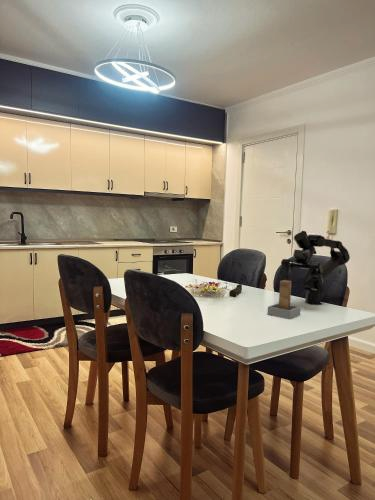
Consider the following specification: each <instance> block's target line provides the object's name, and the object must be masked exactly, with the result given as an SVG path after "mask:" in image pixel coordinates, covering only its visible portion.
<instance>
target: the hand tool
mask: <svg viewBox="0 0 375 500" xmlns="http://www.w3.org/2000/svg"><path fill="white" fill-rule="evenodd" d="M242 287H243V285H242V283H239V284H237V285H236V287H235V288H233V289H230V290H229V292H228V295H229V297H230V298H236V297H237V295H239V294H241V293H242V289H243V288H242Z"/></svg>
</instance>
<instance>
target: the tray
mask: <svg viewBox="0 0 375 500" xmlns="http://www.w3.org/2000/svg"><path fill="white" fill-rule="evenodd" d="M301 308H302V307H301V306H299V305H291V304H290V310H285V309H280V308H279V302H277V303H275V304H271V305H269V306H267V316H271V317H272V316H273V317H278V318H283V319H288V320H292V319H294V318H296V317H298V316H301V311H302V310H301Z"/></svg>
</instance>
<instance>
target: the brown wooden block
mask: <svg viewBox="0 0 375 500" xmlns="http://www.w3.org/2000/svg"><path fill="white" fill-rule="evenodd" d="M278 294H279V295H278V303H279V308H280V309H285V310H290V305H291V296H292V295H291V294H292V280H288V279H283V280H280V281H279V293H278Z"/></svg>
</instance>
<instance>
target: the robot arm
mask: <svg viewBox="0 0 375 500" xmlns="http://www.w3.org/2000/svg"><path fill="white" fill-rule="evenodd" d="M293 239H294V240H293V241H295V243H296V244H297V246H298V249H294V251H293V254H292V255H293V256H292V257H294V261H295V262H292V259H291V258H289V259H288V258H282V260H281V261H280V262H281V263H280V264H281V266H282V268H283V270H284V271H285V280H288V279H289V277H290V275H291V273H292V271H293V268H298V269H302V270H303V269H304V270H307V273H306V275H305V277H304V278H303V280H302V283H303V289H304V291H306V293H305V300H304V302H305V303H307V304H309V305H323V302H322V294H323V293H324V292H325V290H326V286H325V285H324V279H326V278H327V277H328V275H330V274H331V273H332V272H333V271H334V270H335V269H337V268H338V267H339V266H342V265H345V264H347V263H348V262H349V260H350V258H351V256H350V253H349V251H348V249H347V248H346V247H345V246H344V245H343V242H342V241H340V240H334V239H328V238H325V236H323V235H321V234H307V231H305V230H301V231H300V232H298V233H297V234H295V235H294V236H293ZM315 247H317V248H320V247H321V248H322V247H326V248H330V251H329V254H330V260H328V261H327V262H326V263H325V264H324V265H322V263H321V262H318V261H312V258H313V257H314V255H316V254H317V251H316V248H315ZM299 248H300V249H299ZM335 249H338V250H335Z"/></svg>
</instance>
